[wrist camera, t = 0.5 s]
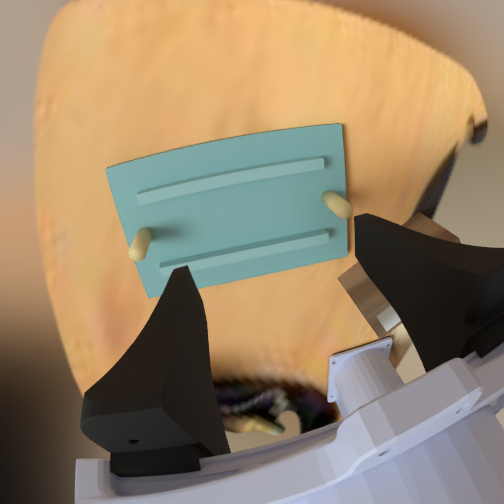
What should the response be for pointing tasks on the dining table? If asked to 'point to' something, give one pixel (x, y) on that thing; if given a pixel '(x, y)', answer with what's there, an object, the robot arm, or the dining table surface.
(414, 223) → the walnut frame
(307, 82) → the dining table surface
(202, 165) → the light blue peg board
